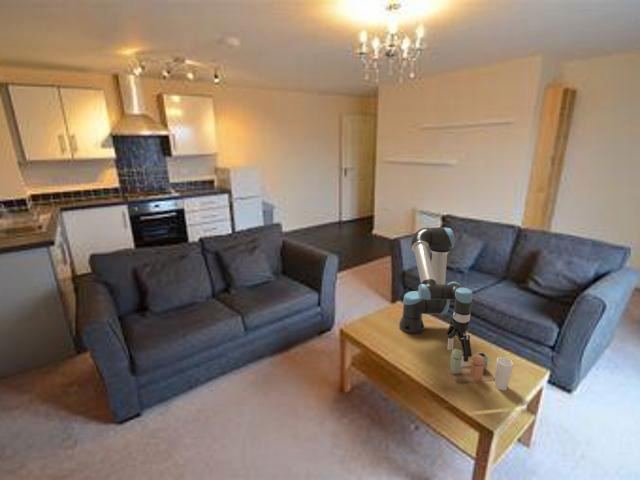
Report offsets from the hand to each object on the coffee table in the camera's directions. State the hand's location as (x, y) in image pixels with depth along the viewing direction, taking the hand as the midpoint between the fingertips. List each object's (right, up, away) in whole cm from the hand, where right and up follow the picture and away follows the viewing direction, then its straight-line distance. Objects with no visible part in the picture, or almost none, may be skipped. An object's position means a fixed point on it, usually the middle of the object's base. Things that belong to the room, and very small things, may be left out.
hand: (456, 357), depth 168 cm
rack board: (+7, -9, 0) cm, 12 cm away
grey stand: (+14, -7, +4) cm, 16 cm away
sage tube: (0, -8, +2) cm, 8 cm away
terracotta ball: (+8, -2, -5) cm, 10 cm away
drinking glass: (+17, -12, -8) cm, 23 cm away
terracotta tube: (+8, -9, -3) cm, 12 cm away
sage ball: (0, 0, 0) cm, 0 cm away
